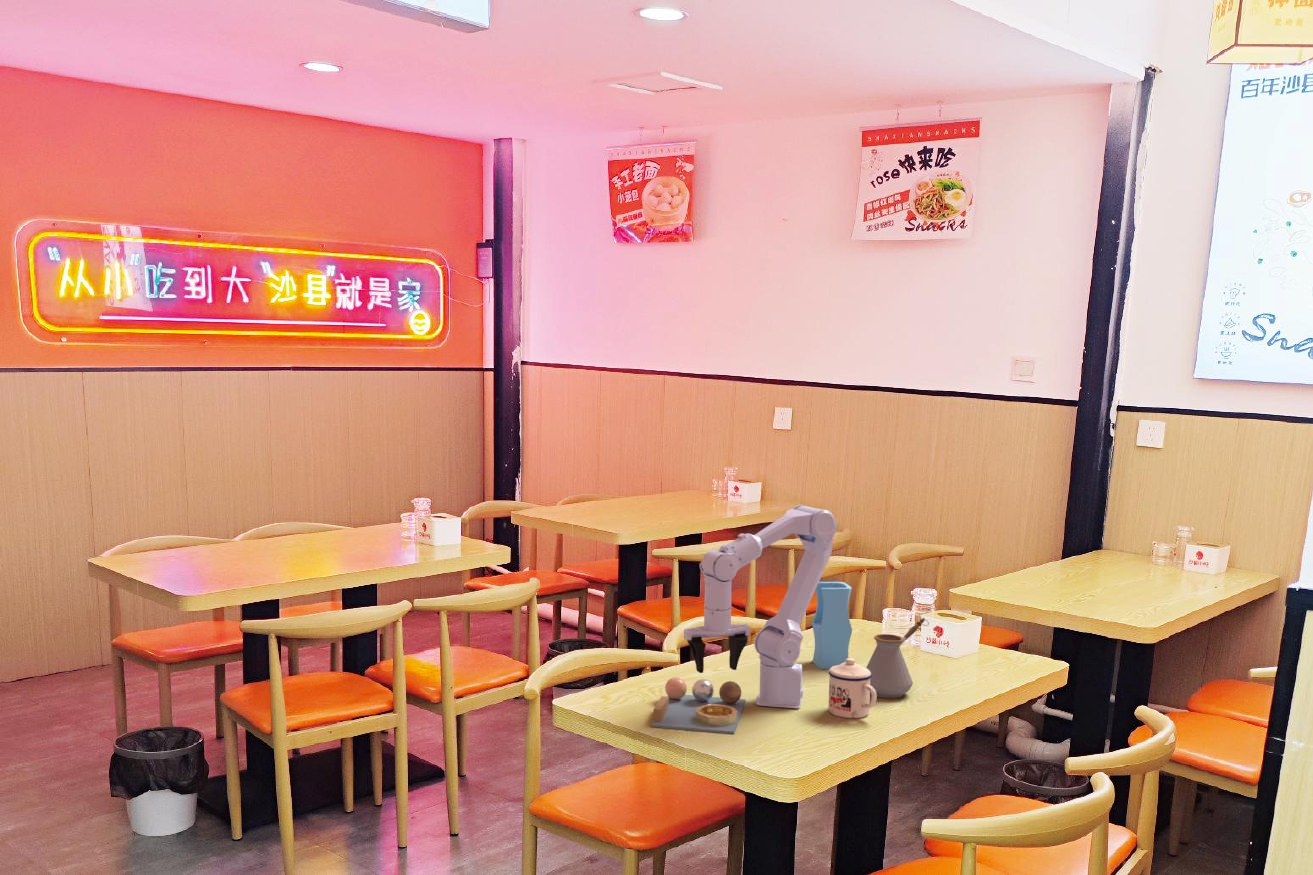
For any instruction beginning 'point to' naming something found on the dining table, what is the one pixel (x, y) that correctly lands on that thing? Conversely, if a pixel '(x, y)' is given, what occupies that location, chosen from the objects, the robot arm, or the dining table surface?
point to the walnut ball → (730, 692)
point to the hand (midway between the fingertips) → (716, 670)
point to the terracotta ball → (675, 688)
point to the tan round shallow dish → (716, 715)
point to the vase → (831, 624)
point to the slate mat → (690, 714)
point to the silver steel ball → (703, 690)
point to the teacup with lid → (850, 690)
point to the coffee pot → (890, 665)
